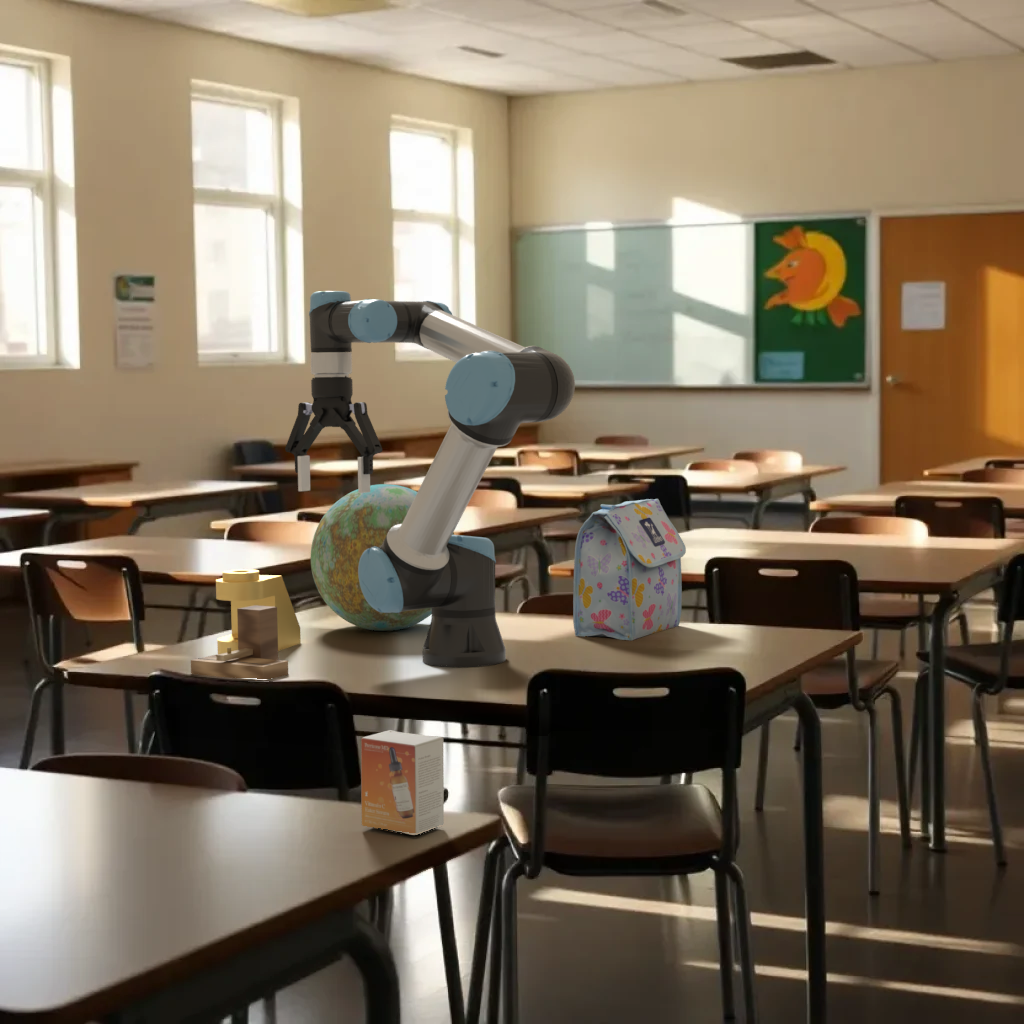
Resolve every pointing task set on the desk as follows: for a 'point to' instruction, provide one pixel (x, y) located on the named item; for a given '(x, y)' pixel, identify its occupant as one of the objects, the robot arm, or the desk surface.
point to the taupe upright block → (255, 634)
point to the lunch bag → (627, 572)
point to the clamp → (258, 591)
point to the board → (240, 667)
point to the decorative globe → (359, 553)
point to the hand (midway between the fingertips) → (334, 491)
